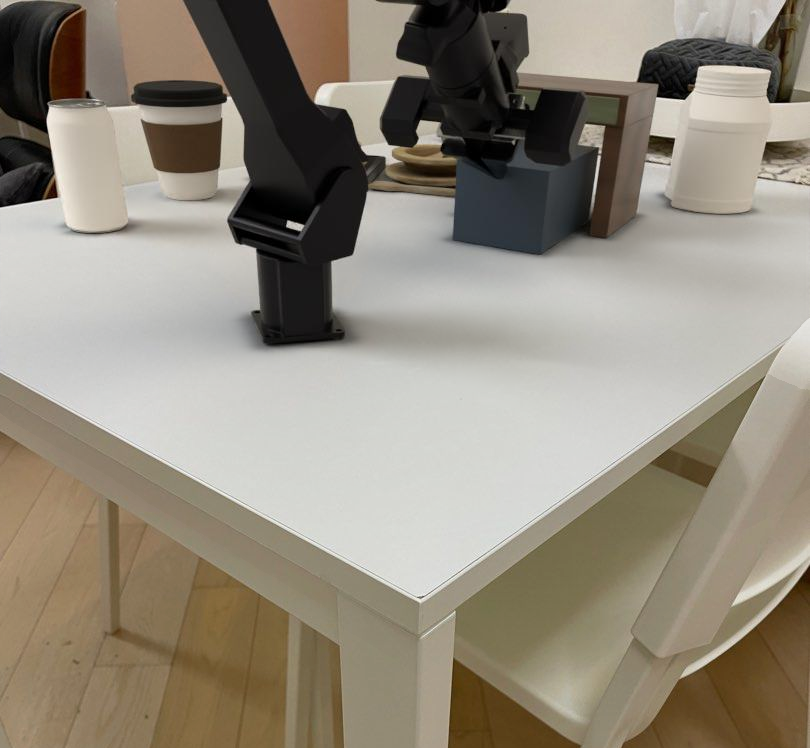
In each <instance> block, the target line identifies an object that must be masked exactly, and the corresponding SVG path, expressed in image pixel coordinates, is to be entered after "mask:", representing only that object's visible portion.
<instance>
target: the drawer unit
mask: <svg viewBox="0 0 810 748" xmlns="http://www.w3.org/2000/svg"><path fill="white" fill-rule="evenodd" d="M517 75H518V78H519V84H518V86H517V89H516V92H515V93H511V94H522V95H524V96H525V101H524V103H526V104H528V105H529V106H530V110H534V108H535V106H536V103H537V100H538V98H539V95H540V92H541V90H542V89H543V88H546V87H551V88H563V89H574V90H583V91H584V93H585V94H586V96H587V98H588V103H589V108H590V112H589V115H588V118H587V120H586V123H585V125H591V126H599V127H602V126H603V127H604V129H603V138H602V143H601V144H602V145H601V152H600V158H599V166H598V173H597V180H596V185H595V186H596V187H595V193H594V200H593V207H592V214H591V221H590V228H589V236H590V237H597V238H603V239H607V238H609V237H610V236H611V235H612V234H614V233H615V232H616V231H617V230H619V229H620V228H621V227H623V226H624V225H626V224H627V223H628V222H629V221H630V220H632V219H633V218H635V217H636V216H637V212H638V206H639V200H640V196H641V188H642V182H643V178H644V171H645V165H646V161H647V153H648V147H649V142H650V138H651V137H650V136H651V131H652V126H653V125H652V124H653V120H654V119H653V118H654V113H655V107H656V102H657V96H658V90H659V83H650V82H649V83H648V82H635V81H626V80H625V81H622V80H613V79H612V80H611V79H599V78H589V77H588V78H587V77H578V76H577V77H576V76H563V75H552V74H541V73H540V74H539V73H530V72H518V71H517Z"/></svg>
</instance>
